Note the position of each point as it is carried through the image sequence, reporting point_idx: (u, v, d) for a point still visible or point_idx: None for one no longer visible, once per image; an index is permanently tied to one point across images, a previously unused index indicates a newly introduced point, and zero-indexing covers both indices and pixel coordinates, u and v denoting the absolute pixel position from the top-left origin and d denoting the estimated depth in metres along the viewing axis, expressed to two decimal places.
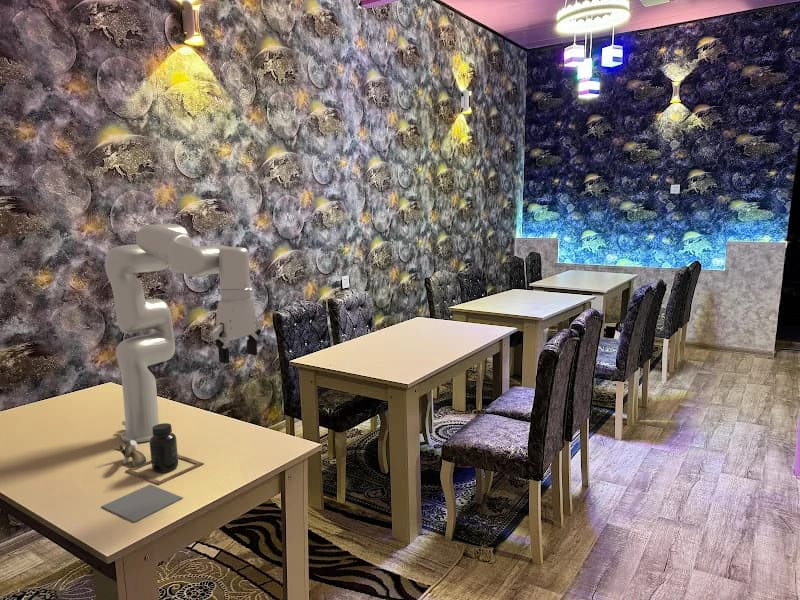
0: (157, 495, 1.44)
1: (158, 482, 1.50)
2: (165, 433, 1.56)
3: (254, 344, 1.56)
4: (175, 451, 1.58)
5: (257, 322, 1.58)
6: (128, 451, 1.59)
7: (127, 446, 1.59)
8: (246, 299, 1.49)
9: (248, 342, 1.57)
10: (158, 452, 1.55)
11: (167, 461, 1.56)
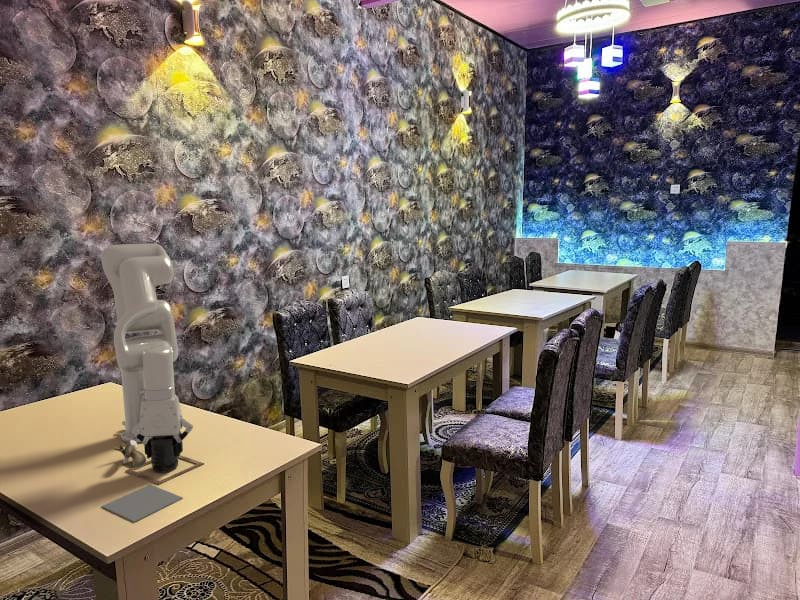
0: (157, 495, 1.44)
1: (158, 482, 1.50)
2: None
3: None
4: None
5: None
6: (128, 451, 1.59)
7: (127, 446, 1.59)
8: None
9: (149, 445, 1.57)
10: (158, 452, 1.55)
11: (167, 461, 1.56)
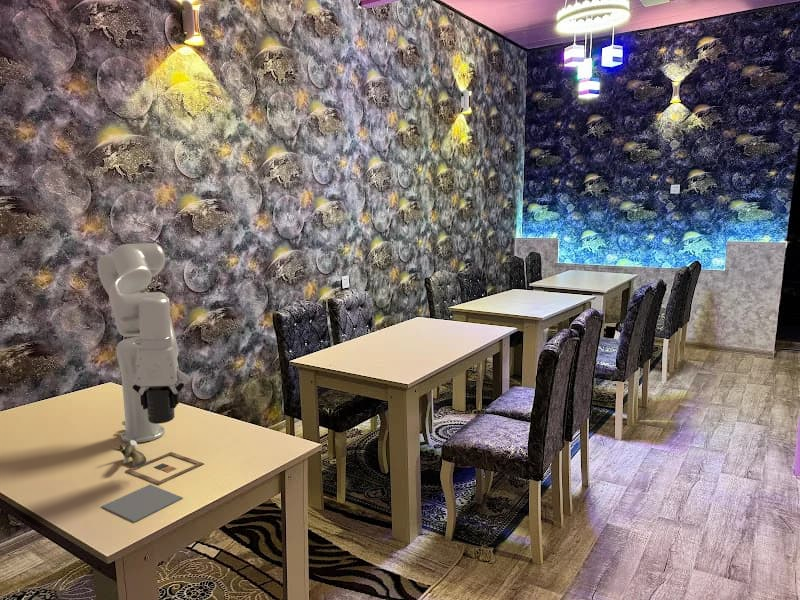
0: (157, 495, 1.44)
1: (158, 482, 1.50)
2: None
3: None
4: (171, 403, 1.56)
5: None
6: (128, 451, 1.59)
7: (127, 446, 1.59)
8: None
9: (145, 396, 1.55)
10: (154, 403, 1.53)
11: (163, 413, 1.54)
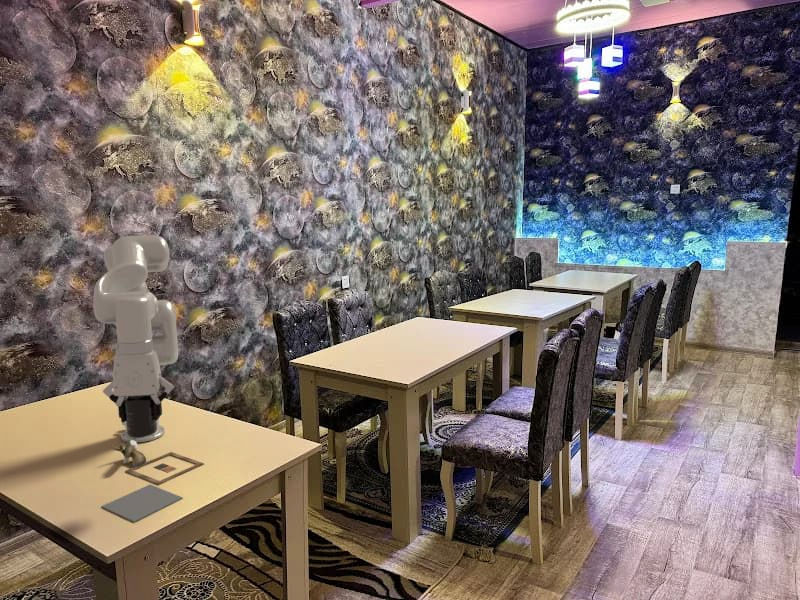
0: (157, 495, 1.44)
1: (158, 482, 1.50)
2: None
3: None
4: None
5: None
6: (128, 451, 1.59)
7: (127, 446, 1.59)
8: None
9: None
10: (134, 414, 1.37)
11: (144, 425, 1.38)
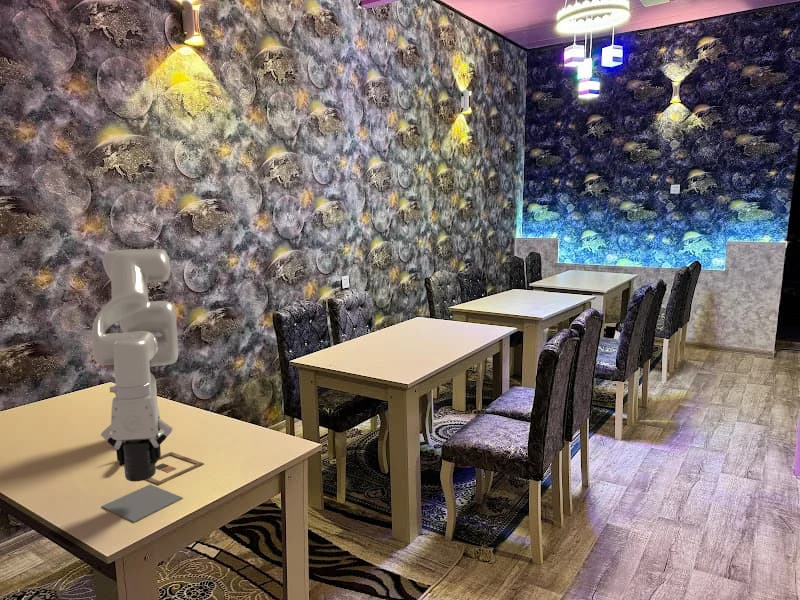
0: (157, 495, 1.44)
1: (158, 482, 1.50)
2: None
3: None
4: None
5: None
6: None
7: None
8: None
9: (122, 451, 1.37)
10: (132, 458, 1.35)
11: (143, 469, 1.36)
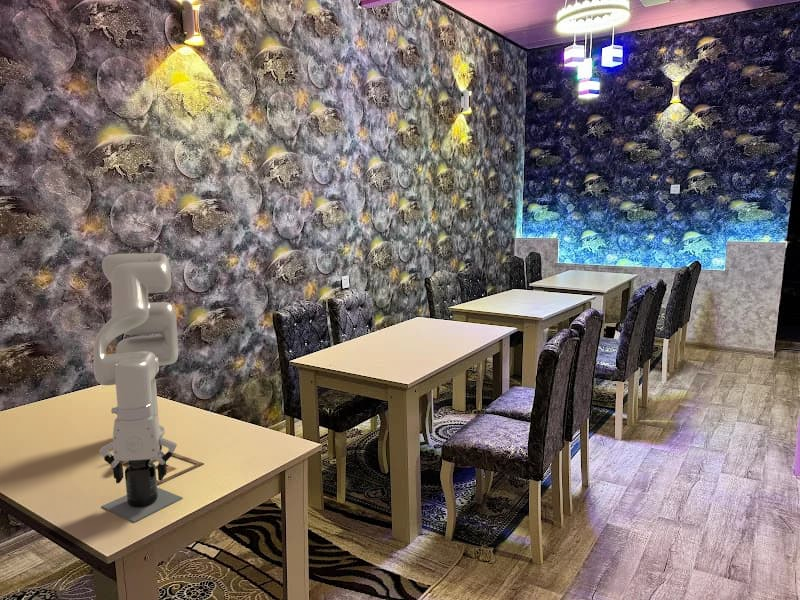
0: None
1: (158, 482, 1.50)
2: (142, 463, 1.37)
3: (122, 466, 1.40)
4: (154, 483, 1.39)
5: None
6: None
7: None
8: None
9: (119, 468, 1.38)
10: (134, 484, 1.36)
11: (145, 495, 1.38)
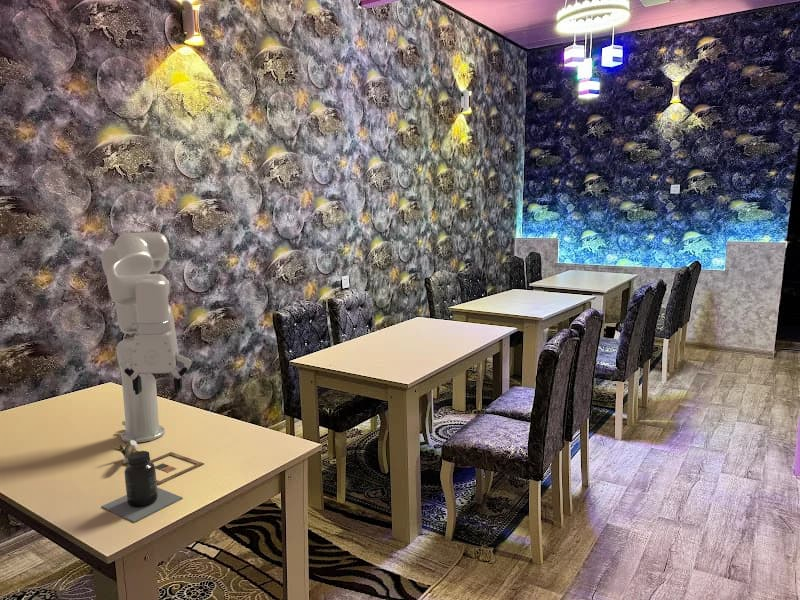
0: None
1: (158, 482, 1.50)
2: (142, 463, 1.37)
3: (140, 379, 1.49)
4: (154, 483, 1.39)
5: None
6: (128, 451, 1.59)
7: (127, 446, 1.59)
8: None
9: (138, 381, 1.47)
10: (134, 484, 1.36)
11: (144, 495, 1.38)
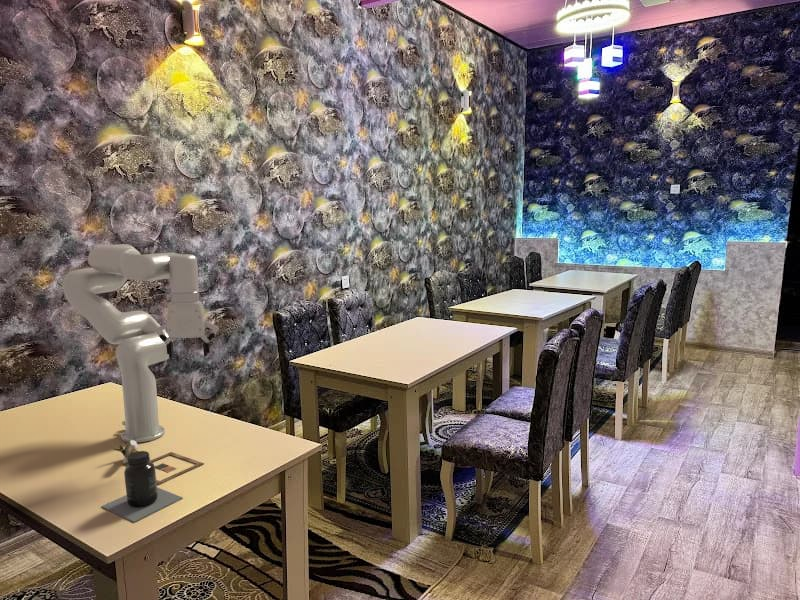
0: None
1: (158, 482, 1.50)
2: (142, 463, 1.37)
3: (173, 345, 1.68)
4: (153, 483, 1.39)
5: None
6: (128, 451, 1.59)
7: (127, 446, 1.59)
8: None
9: (171, 345, 1.66)
10: (134, 485, 1.36)
11: (144, 495, 1.37)
